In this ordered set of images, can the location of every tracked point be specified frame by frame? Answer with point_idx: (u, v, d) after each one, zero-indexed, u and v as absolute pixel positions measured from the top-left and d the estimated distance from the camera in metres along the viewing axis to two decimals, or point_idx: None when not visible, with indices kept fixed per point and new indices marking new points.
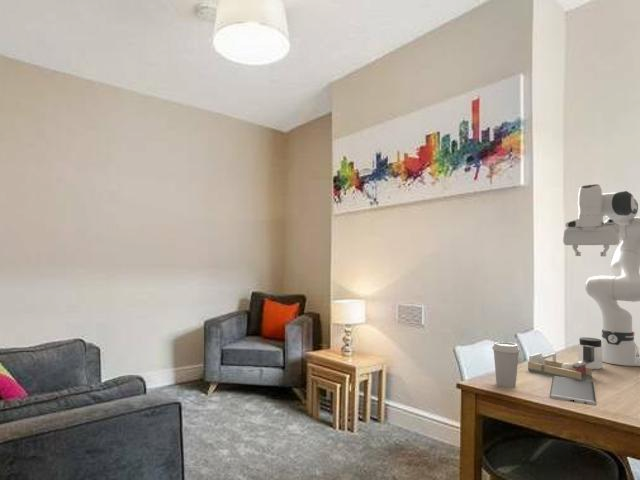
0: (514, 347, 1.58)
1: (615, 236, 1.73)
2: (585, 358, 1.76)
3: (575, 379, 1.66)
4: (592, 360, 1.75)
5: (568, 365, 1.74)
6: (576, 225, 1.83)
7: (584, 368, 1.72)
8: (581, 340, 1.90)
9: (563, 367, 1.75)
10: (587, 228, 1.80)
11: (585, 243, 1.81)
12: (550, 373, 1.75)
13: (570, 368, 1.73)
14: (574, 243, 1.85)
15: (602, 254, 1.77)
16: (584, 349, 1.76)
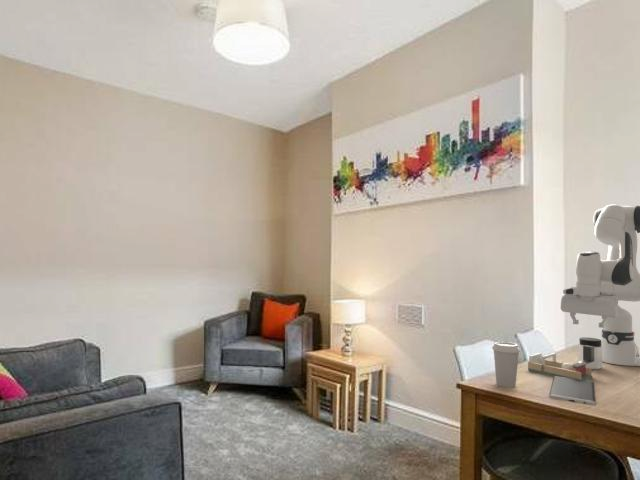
0: (514, 347, 1.58)
1: (614, 308, 1.69)
2: (585, 358, 1.76)
3: (575, 379, 1.65)
4: (592, 360, 1.75)
5: (568, 365, 1.74)
6: (574, 293, 1.78)
7: (584, 368, 1.72)
8: (581, 340, 1.90)
9: (563, 367, 1.75)
10: (585, 297, 1.75)
11: (583, 312, 1.77)
12: (550, 373, 1.75)
13: (570, 368, 1.73)
14: (572, 311, 1.80)
15: (600, 325, 1.72)
16: (584, 349, 1.76)
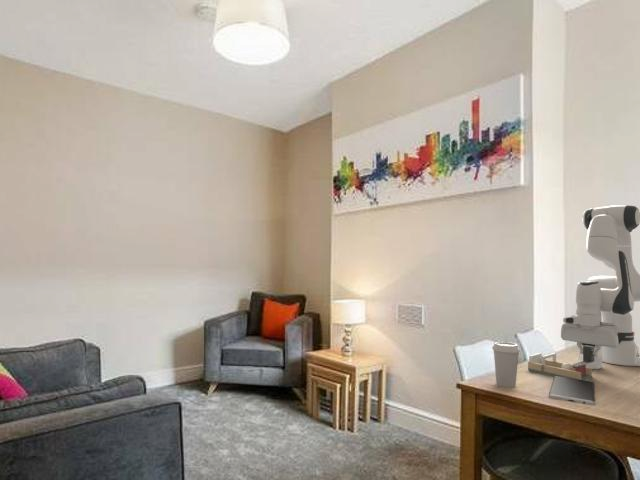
0: (514, 347, 1.58)
1: (614, 339, 1.68)
2: (585, 358, 1.76)
3: (576, 379, 1.65)
4: (592, 360, 1.75)
5: (568, 365, 1.74)
6: (574, 322, 1.78)
7: (584, 368, 1.72)
8: None
9: (563, 367, 1.75)
10: (585, 327, 1.75)
11: (583, 341, 1.77)
12: (550, 373, 1.75)
13: (570, 368, 1.73)
14: (572, 340, 1.80)
15: (594, 354, 1.74)
16: (584, 349, 1.76)
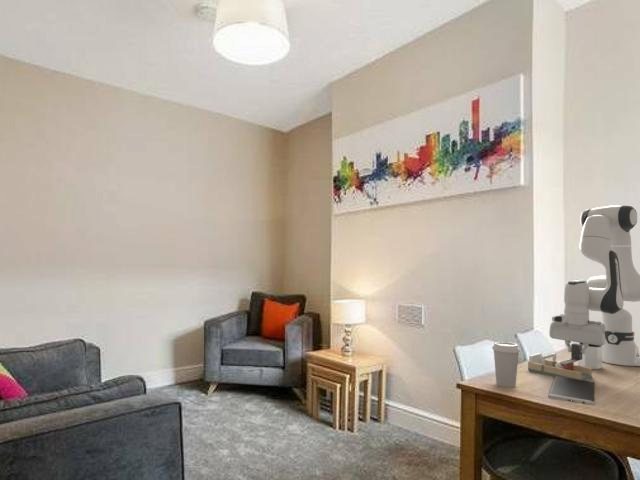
0: (514, 347, 1.58)
1: (601, 337, 1.72)
2: (573, 356, 1.79)
3: (576, 379, 1.65)
4: (580, 358, 1.79)
5: (558, 362, 1.77)
6: (562, 321, 1.81)
7: (572, 366, 1.75)
8: None
9: (557, 367, 1.77)
10: (573, 325, 1.78)
11: (571, 340, 1.80)
12: (550, 373, 1.75)
13: None
14: (560, 338, 1.83)
15: (581, 352, 1.78)
16: (572, 347, 1.80)
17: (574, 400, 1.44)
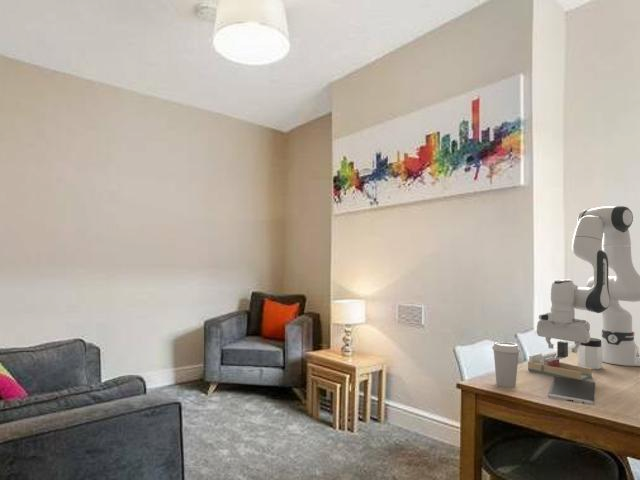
0: (514, 347, 1.58)
1: (585, 335, 1.76)
2: (559, 353, 1.84)
3: (577, 379, 1.65)
4: (566, 355, 1.83)
5: None
6: (549, 319, 1.86)
7: (557, 363, 1.80)
8: None
9: None
10: (559, 323, 1.83)
11: (557, 337, 1.84)
12: (550, 373, 1.75)
13: None
14: (547, 336, 1.88)
15: (573, 350, 1.80)
16: (558, 345, 1.84)
17: (574, 400, 1.44)
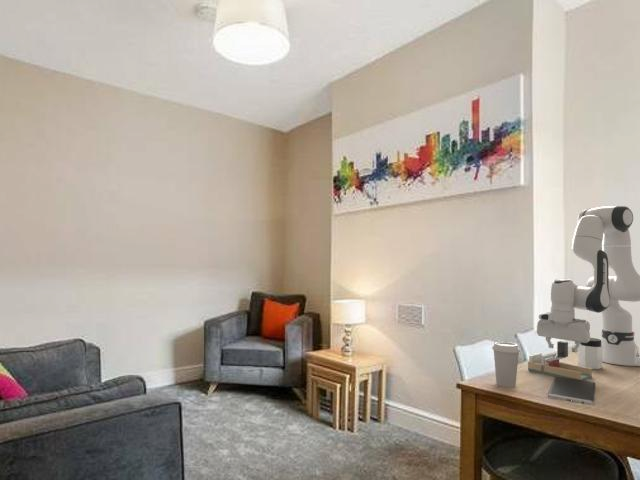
0: (514, 347, 1.58)
1: (585, 335, 1.76)
2: (559, 353, 1.84)
3: (577, 379, 1.65)
4: (566, 355, 1.83)
5: None
6: (549, 319, 1.86)
7: (557, 363, 1.80)
8: None
9: (546, 364, 1.80)
10: (559, 323, 1.83)
11: (557, 337, 1.84)
12: (550, 373, 1.75)
13: None
14: (547, 335, 1.88)
15: (573, 350, 1.80)
16: (558, 345, 1.84)
17: (573, 400, 1.44)
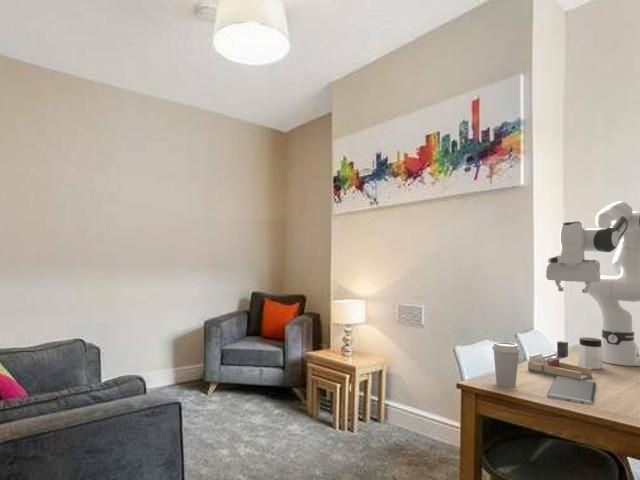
0: (514, 347, 1.58)
1: (596, 274, 1.75)
2: (559, 353, 1.84)
3: (577, 379, 1.65)
4: (566, 355, 1.83)
5: None
6: (558, 261, 1.85)
7: (557, 363, 1.80)
8: (581, 340, 1.90)
9: (546, 364, 1.80)
10: (569, 265, 1.82)
11: (567, 279, 1.84)
12: (550, 373, 1.75)
13: None
14: (557, 279, 1.87)
15: (584, 291, 1.79)
16: (558, 345, 1.84)
17: (573, 400, 1.44)
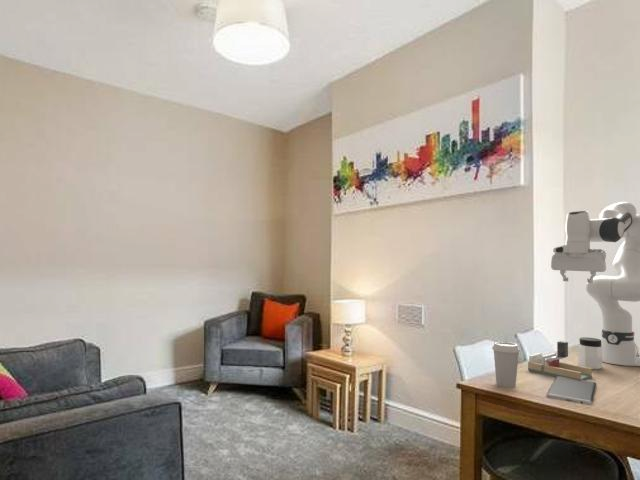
0: (514, 347, 1.58)
1: (601, 263, 1.75)
2: (559, 353, 1.84)
3: (578, 379, 1.65)
4: (566, 355, 1.83)
5: None
6: (563, 251, 1.84)
7: (557, 363, 1.80)
8: (581, 340, 1.90)
9: (546, 364, 1.80)
10: (574, 254, 1.81)
11: (572, 269, 1.83)
12: (550, 373, 1.75)
13: None
14: (562, 268, 1.86)
15: (589, 280, 1.79)
16: (558, 345, 1.84)
17: (572, 400, 1.44)
